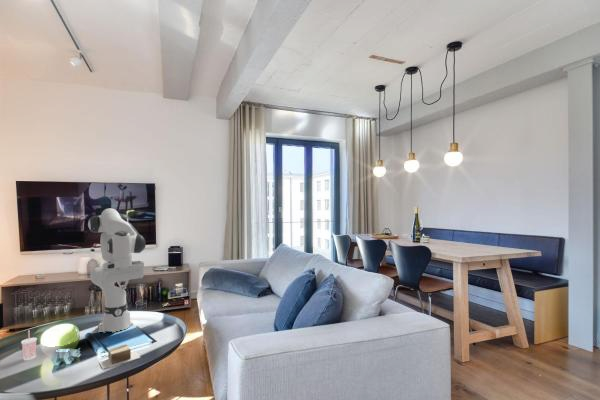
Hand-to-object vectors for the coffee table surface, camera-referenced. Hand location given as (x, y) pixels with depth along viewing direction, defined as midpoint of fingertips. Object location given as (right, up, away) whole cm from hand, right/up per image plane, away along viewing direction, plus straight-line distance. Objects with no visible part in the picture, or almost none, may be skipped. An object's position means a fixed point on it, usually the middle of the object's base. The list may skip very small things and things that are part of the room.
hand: (122, 289), depth 172 cm
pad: (+6, -31, -14) cm, 34 cm away
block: (+3, -28, -10) cm, 30 cm away
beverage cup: (-41, -32, -10) cm, 53 cm away
